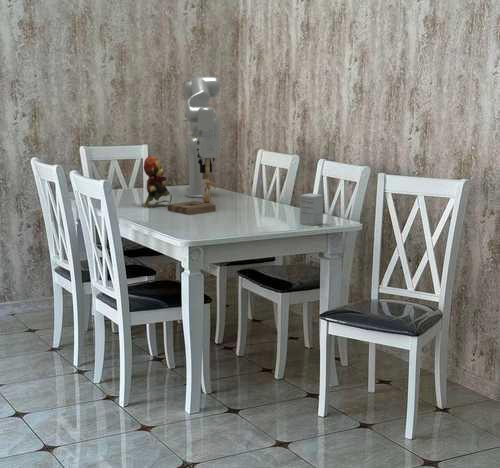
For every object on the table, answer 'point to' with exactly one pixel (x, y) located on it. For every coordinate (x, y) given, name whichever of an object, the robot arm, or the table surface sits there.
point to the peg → (206, 169)
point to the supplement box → (311, 209)
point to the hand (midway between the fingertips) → (205, 172)
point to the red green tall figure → (155, 181)
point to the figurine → (207, 197)
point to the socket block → (191, 207)
